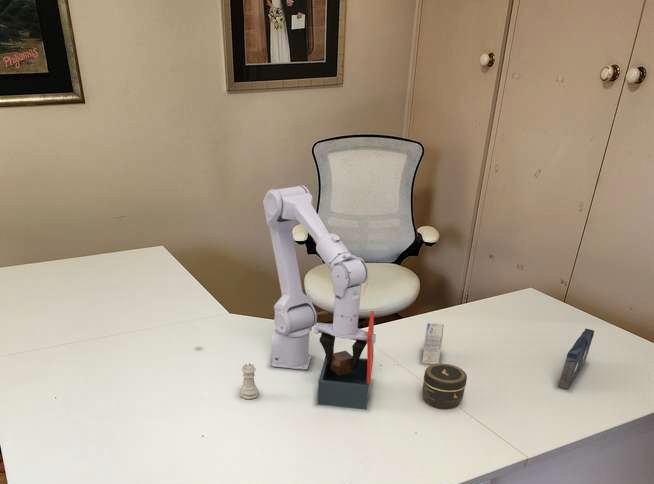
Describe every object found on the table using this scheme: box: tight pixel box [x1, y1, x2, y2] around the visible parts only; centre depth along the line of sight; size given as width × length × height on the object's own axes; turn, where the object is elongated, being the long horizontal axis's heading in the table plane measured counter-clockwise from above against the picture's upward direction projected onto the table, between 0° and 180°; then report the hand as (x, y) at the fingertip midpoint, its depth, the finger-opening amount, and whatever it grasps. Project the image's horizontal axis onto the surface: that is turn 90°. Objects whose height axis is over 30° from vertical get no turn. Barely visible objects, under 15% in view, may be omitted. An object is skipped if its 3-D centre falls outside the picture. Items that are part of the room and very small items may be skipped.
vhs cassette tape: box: [558, 328, 595, 390], centre depth 161 cm, size 18×3×10 cm, turn 145°
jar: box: [421, 363, 468, 410], centre depth 149 cm, size 10×10×8 cm
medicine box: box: [421, 322, 444, 365], centre depth 167 cm, size 8×4×9 cm, turn 168°
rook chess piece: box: [239, 363, 259, 401], centre depth 147 cm, size 4×4×8 cm
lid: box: [366, 310, 375, 386], centre depth 145 cm, size 12×14×1 cm
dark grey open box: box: [317, 354, 370, 410], centre depth 150 cm, size 12×14×6 cm
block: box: [331, 350, 353, 376], centre depth 148 cm, size 4×4×4 cm
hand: (342, 365), depth 148 cm, fingers closed on block, 5 cm apart
